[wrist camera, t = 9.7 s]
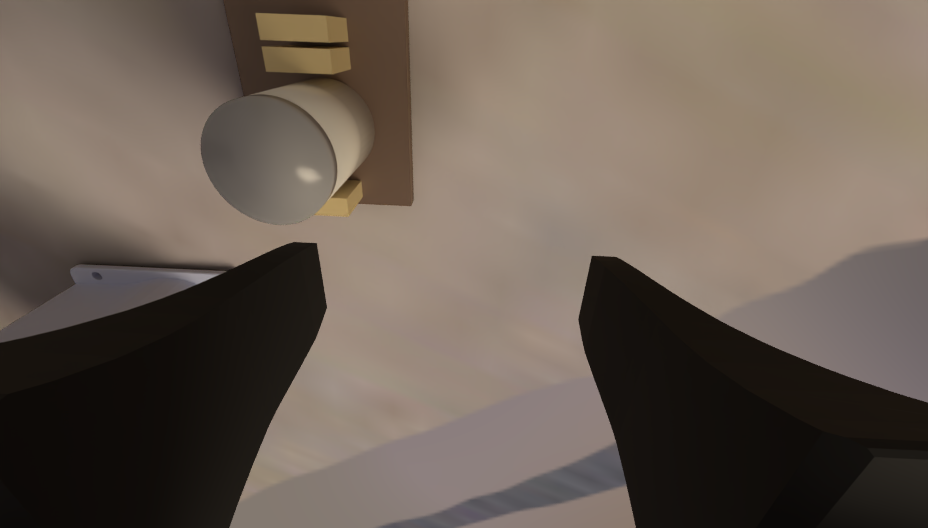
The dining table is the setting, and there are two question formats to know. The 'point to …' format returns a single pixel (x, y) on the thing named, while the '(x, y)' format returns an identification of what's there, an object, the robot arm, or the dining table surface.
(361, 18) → the fuse holder
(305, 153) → the cylinder
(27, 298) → the dining table surface
